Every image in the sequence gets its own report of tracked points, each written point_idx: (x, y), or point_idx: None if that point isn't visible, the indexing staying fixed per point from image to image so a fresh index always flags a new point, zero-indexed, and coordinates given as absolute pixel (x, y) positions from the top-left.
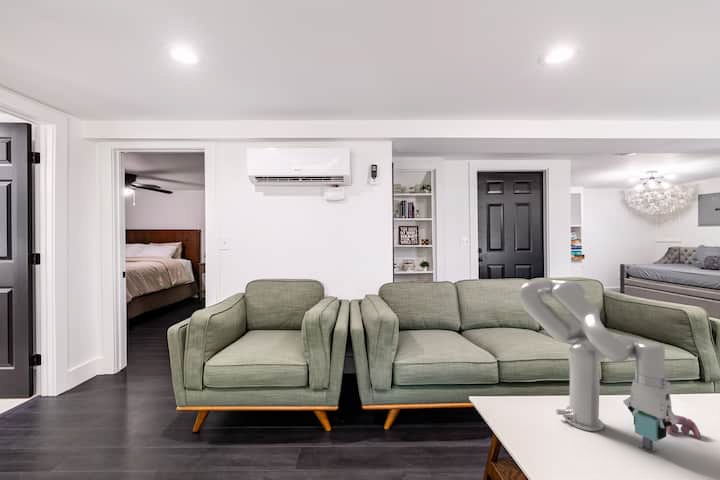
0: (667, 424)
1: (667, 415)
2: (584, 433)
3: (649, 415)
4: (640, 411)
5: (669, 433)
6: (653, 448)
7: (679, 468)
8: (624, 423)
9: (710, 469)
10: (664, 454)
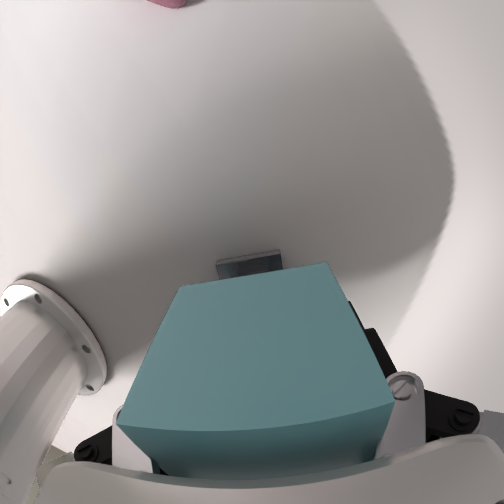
0: (432, 436)
1: (450, 447)
2: (121, 396)
3: (265, 477)
4: (167, 471)
5: (177, 6)
6: (270, 267)
7: (395, 285)
8: (43, 163)
9: (445, 156)
10: (314, 241)
